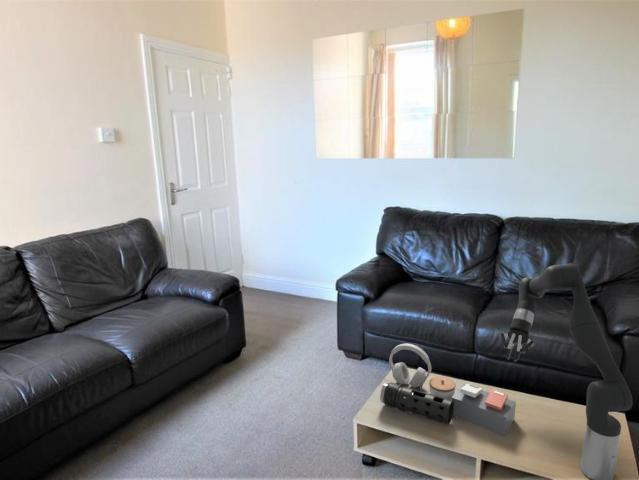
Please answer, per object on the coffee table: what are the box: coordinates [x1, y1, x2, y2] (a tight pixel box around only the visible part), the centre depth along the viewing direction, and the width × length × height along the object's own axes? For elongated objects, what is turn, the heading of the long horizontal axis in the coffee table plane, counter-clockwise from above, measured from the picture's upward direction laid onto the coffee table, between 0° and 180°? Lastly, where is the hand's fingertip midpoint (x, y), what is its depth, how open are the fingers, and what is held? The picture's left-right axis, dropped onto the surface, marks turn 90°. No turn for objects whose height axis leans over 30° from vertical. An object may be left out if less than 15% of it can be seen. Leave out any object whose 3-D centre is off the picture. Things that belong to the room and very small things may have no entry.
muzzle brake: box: [379, 382, 454, 425], centre depth 177 cm, size 10×28×10 cm, turn 59°
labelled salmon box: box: [485, 388, 509, 411], centre depth 169 cm, size 6×8×2 cm
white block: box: [460, 383, 483, 398], centre depth 175 cm, size 6×8×2 cm
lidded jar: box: [428, 375, 457, 400], centre depth 186 cm, size 11×11×9 cm
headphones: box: [388, 342, 432, 390], centre depth 195 cm, size 19×8×20 cm, turn 60°
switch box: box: [451, 383, 517, 437], centre depth 173 cm, size 21×12×9 cm, turn 51°
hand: (511, 359), depth 178 cm, fingers closed
